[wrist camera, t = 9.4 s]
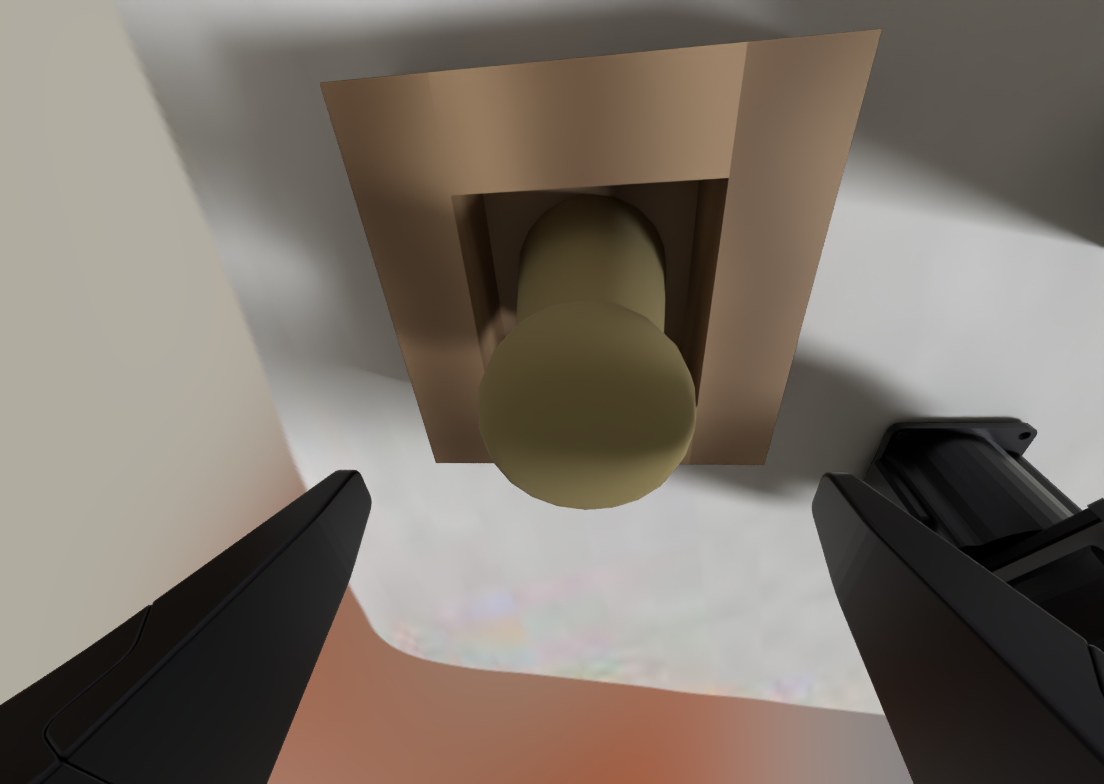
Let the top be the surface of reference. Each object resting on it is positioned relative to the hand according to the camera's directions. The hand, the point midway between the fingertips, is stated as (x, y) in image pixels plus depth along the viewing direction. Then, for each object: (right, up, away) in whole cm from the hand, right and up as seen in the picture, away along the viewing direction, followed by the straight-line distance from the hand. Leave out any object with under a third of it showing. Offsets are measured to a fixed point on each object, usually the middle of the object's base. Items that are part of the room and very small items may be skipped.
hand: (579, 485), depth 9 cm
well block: (+1, +7, +10) cm, 13 cm away
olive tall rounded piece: (+1, +7, +10) cm, 12 cm away
